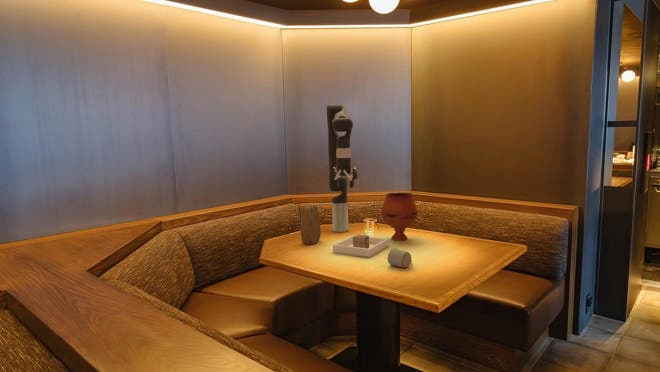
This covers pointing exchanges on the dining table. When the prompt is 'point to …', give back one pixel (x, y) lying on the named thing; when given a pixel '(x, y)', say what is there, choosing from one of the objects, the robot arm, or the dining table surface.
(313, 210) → the block
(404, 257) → the grey barrel
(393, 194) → the goblet
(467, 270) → the dining table surface
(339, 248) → the tray
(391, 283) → the dining table surface
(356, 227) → the dining table surface
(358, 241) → the cube
